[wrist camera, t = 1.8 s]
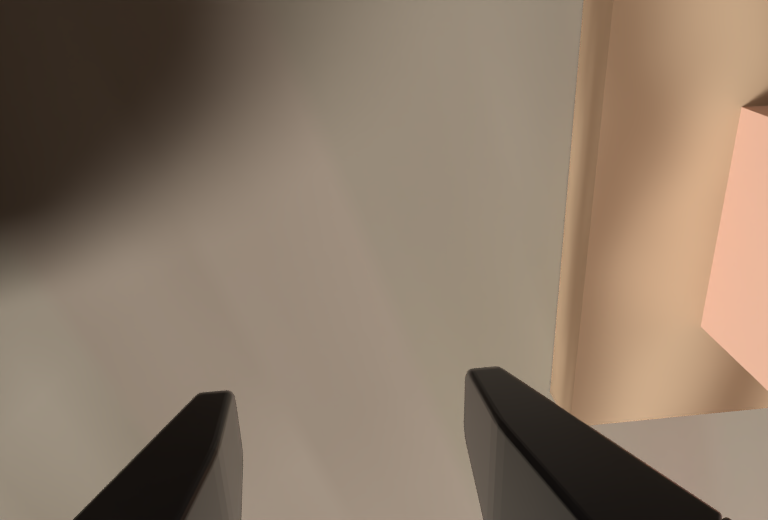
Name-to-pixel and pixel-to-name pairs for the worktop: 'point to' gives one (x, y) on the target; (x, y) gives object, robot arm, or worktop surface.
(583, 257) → the tan wooden slab
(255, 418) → the worktop surface
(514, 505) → the robot arm
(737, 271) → the terracotta block
